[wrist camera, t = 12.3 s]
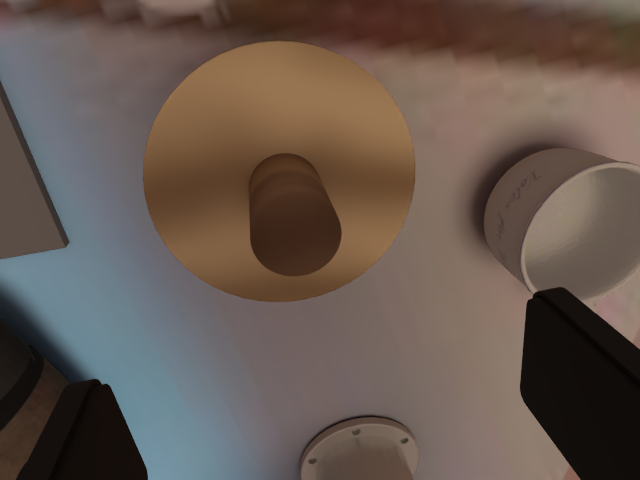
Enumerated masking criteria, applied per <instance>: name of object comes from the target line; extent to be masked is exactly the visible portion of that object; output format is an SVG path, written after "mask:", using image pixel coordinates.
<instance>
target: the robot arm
mask: <svg viewBox="0 0 640 480" xmlns="http://www.w3.org/2000/svg"><path fill="white" fill-rule="evenodd" d="M520 391H521V396H522V398H523V401H524V403H525V404H526V406H527V407H528V408H529V410H530V411H531V412H532V414H533V415H534V417H535V418H536V419H537V421H538V422H539V423H540V425H541V426H542V427H543V429H544V430H545V431H546V433H547V434H548V436H549V437H550V438H551V440H552V441H553V442H554V444H555V445H556V446H557V448H558V449H559V451H560V452H561V453H562V455H563V456H564V457H565V459H566V460H567V461H568V463H569V464H570V466H571V467H572V468H573V469H574V471H575V472H576V474H577V475H578V476H579V478H580V479H581V480H640V349H638V348H637V347H636V346H635V345H634V344H632V343H631V342H630V341H629V340H628V339H626V338H625V337H624V336H623V335H621V334H620V333H619V332H618V331H617V330H615V329H614V328H613V327H612V326H611V325H609V324H608V323H607V322H606V321H605V320H603V319H602V318H601V317H600V316H598V315H597V314H596V313H595V312H594V311H592V310H591V309H590V308H589V307H588V306H586V305H585V304H584V303H583V302H582V301H580V300H579V299H578V298H577V297H575V296H574V295H573V294H572V293H571V292H569V291H568V290H567V289H565V288H564V287H556V288H551V289H546V290H541V291H537V292H535V293H534V295H533V298H532V299H530V300H528V302H527V307H526V319H525V332H524V344H523V357H522V369H521V382H520ZM418 463H419V450H418V446H417V444H416V441H415V439H414V437H413V435H412V434H411V433H410V431H409V430H408V429H406V428H405V427H404V426H403V425H401V424H399V423H397V422H395V421H392V420H388V419H385V418H376V417H366V418H357V419H352V420H348V421H345V422H342V423H339V424H337V425H335V426H333V427H331V428H329V429H327V430H326V431H324V432H323V433H321V434H320V435H318V436H317V437H316V438H315V439H314V440H313V441H312V442H311V443H310V444H309V446H308V447H307V449H306V450H305V452H304V454H303V456H302V458H301V463H300V474H301V480H414V479H413V474H414V473H415V471H416V469H417V466H418ZM16 480H148V475H147V469H146V466H145V464H144V462H143V460H142V457H141V455H140V453H139V451H138V448H137V446H136V444H135V441H134V439H133V437H132V435H131V432H130V430H129V428H128V426H127V423H126V421H125V419H124V417H123V414H122V412H121V410H120V408H119V405H118V403H117V401H116V398H115V396H114V394H113V392H112V389H111V388H110V386H109V385H108V384H103V385H102V384H101V382H100V381H99V380H98V379H92V380H87V381H82V382H77V383H72V384H68V385H67V386H66V387H65V388H64V389H63V391H62V393H61V395H60V397H59V399H58V401H57V403H56V405H55V407H54V409H53V411H52V413H51V415H50V417H49V419H48V421H47V423H46V425H45V427H44V429H43V431H42V433H41V435H40V437H39V439H38V441H37V443H36V445H35V447H34V449H33V451H32V453H31V455H30V457H29V459H28V461H27V462H26V463H25V464H24V466H23V467H22V469H21V470H20V472H19V474H18V476H17V478H16Z"/></svg>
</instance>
